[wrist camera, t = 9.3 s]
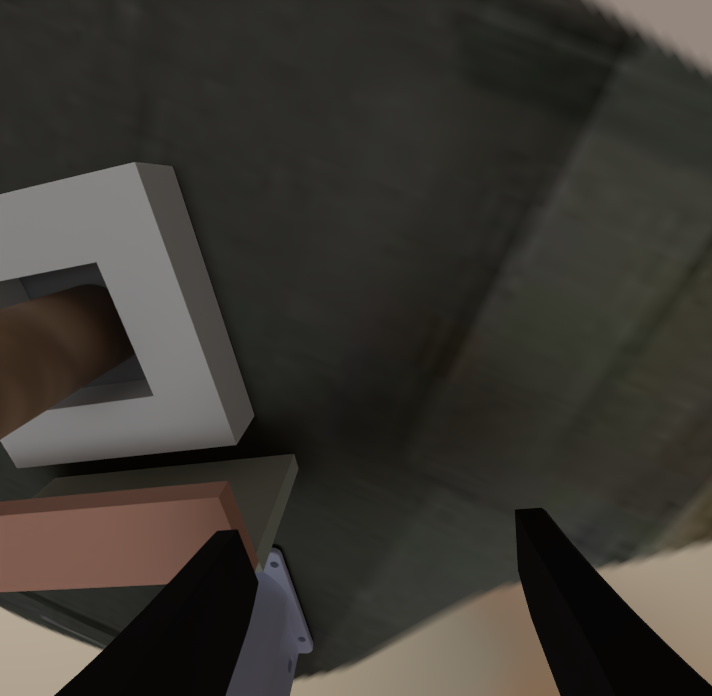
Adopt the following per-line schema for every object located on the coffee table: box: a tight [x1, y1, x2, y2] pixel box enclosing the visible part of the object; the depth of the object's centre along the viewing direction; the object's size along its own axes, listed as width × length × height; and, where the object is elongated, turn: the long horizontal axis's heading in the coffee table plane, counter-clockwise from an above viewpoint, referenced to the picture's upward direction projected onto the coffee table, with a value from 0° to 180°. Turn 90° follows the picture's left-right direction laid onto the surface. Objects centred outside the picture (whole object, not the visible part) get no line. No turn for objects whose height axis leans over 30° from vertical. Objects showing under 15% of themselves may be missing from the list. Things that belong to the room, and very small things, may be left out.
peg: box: [0, 284, 135, 440], centre depth 15 cm, size 4×4×8 cm
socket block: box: [0, 162, 255, 468], centre depth 18 cm, size 12×12×2 cm
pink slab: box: [0, 454, 299, 592], centre depth 18 cm, size 5×15×7 cm, turn 100°
